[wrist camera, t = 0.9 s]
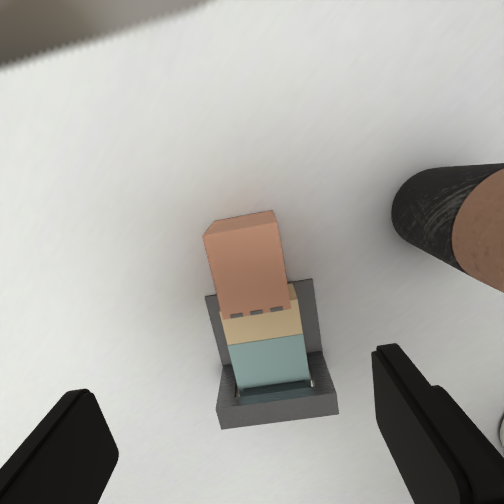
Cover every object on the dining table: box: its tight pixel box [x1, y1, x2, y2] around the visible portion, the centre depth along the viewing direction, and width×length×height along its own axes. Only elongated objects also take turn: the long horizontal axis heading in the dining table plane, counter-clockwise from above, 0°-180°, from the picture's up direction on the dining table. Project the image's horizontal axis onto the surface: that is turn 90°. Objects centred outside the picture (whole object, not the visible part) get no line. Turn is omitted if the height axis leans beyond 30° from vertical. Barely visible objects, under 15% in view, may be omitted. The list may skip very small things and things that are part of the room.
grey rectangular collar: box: [216, 351, 339, 430], centre depth 27 cm, size 2×11×6 cm, turn 101°
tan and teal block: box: [219, 283, 311, 397], centre depth 27 cm, size 11×7×4 cm, turn 11°
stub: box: [202, 210, 291, 320], centre depth 23 cm, size 7×6×6 cm
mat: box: [205, 279, 323, 381], centre depth 29 cm, size 12×11×1 cm
